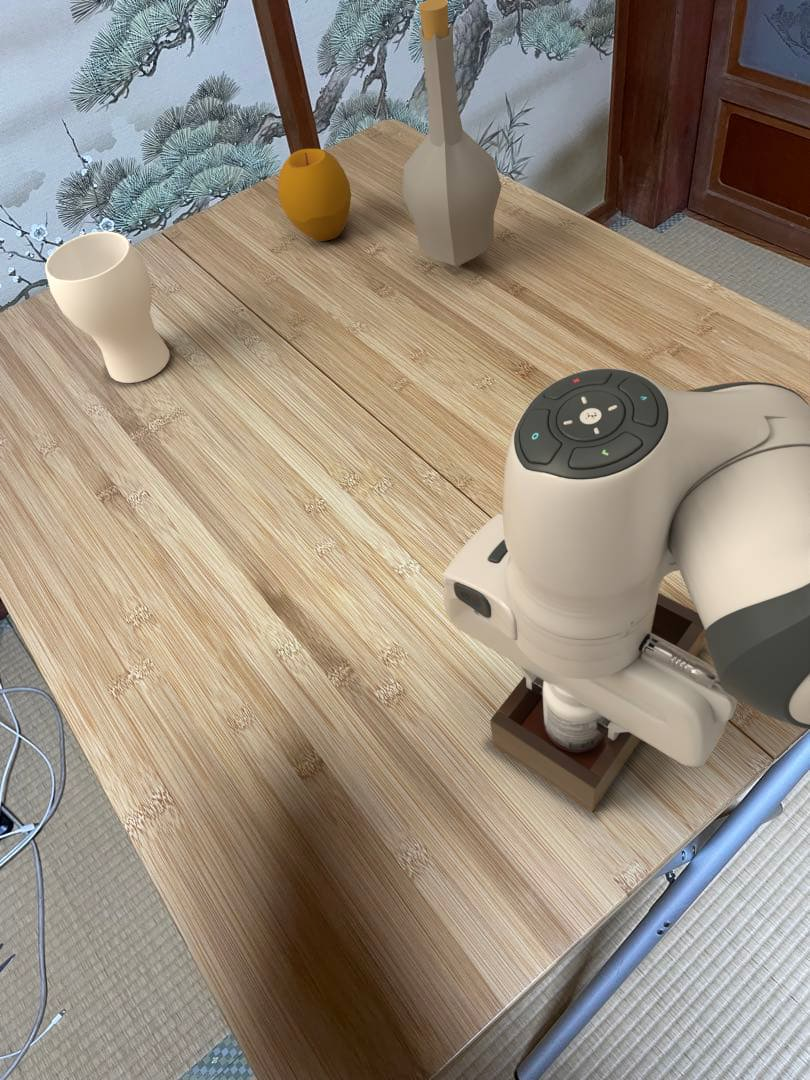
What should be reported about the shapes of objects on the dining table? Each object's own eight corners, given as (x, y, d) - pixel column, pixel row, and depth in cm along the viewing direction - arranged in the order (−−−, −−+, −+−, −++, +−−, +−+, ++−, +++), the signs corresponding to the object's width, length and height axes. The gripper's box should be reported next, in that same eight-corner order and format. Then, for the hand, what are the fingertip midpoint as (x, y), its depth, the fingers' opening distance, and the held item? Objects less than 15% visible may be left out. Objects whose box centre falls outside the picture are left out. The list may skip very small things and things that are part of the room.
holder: (606, 598, 73) (609, 567, 70) (701, 648, 69) (710, 618, 65) (492, 745, 66) (489, 720, 63) (591, 812, 62) (594, 789, 58)
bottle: (401, 286, 105) (359, 27, 82) (433, 236, 111) (403, -19, 88) (485, 298, 102) (467, 30, 78) (514, 245, 108) (505, -18, 84)
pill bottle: (562, 687, 66) (563, 631, 60) (617, 715, 64) (624, 660, 58) (532, 734, 64) (529, 681, 58) (588, 765, 62) (592, 714, 56)
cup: (106, 403, 99) (47, 297, 87) (90, 354, 105) (33, 249, 94) (190, 371, 101) (144, 262, 89) (170, 324, 107) (123, 217, 95)
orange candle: (275, 239, 116) (252, 157, 107) (328, 207, 119) (310, 125, 110) (319, 263, 111) (298, 180, 102) (373, 229, 114) (357, 145, 105)
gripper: (768, 650, 48) (727, 750, 58) (478, 502, 57) (489, 612, 68) (715, 733, 45) (683, 822, 56) (421, 564, 55) (442, 668, 65)
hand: (574, 706), depth 62 cm, fingers closed on pill bottle, 4 cm apart
